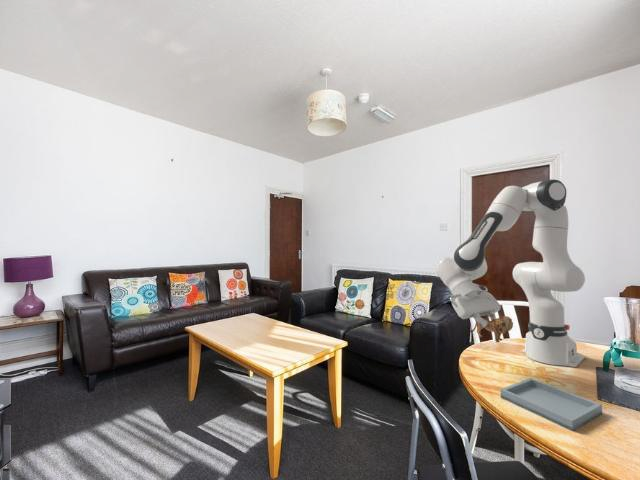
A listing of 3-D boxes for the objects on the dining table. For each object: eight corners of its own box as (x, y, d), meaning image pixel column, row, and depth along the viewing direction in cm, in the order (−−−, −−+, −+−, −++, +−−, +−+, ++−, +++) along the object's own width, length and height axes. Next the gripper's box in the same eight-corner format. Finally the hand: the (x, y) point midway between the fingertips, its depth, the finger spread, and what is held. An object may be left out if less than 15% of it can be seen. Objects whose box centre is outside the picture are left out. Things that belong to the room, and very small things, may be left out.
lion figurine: (516, 342, 100) (515, 316, 100) (509, 345, 97) (509, 318, 97) (473, 332, 112) (472, 308, 112) (465, 334, 109) (465, 310, 109)
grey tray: (530, 385, 96) (530, 378, 96) (602, 413, 80) (601, 404, 80) (500, 397, 89) (500, 389, 89) (572, 431, 73) (572, 421, 73)
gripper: (452, 290, 106) (478, 324, 97) (488, 286, 115) (514, 316, 106) (442, 301, 110) (466, 333, 101) (478, 295, 119) (502, 325, 110)
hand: (491, 324), depth 104 cm, fingers closed on lion figurine, 4 cm apart
